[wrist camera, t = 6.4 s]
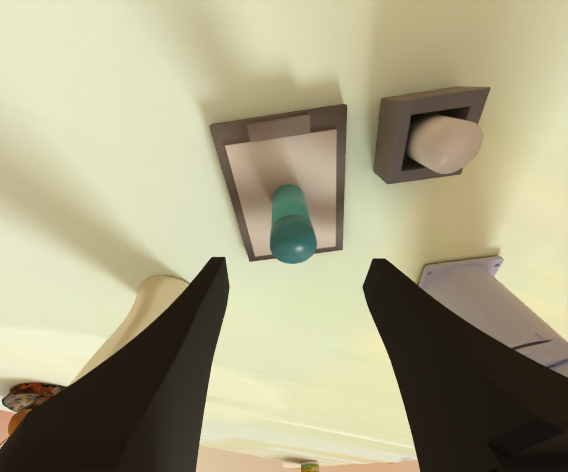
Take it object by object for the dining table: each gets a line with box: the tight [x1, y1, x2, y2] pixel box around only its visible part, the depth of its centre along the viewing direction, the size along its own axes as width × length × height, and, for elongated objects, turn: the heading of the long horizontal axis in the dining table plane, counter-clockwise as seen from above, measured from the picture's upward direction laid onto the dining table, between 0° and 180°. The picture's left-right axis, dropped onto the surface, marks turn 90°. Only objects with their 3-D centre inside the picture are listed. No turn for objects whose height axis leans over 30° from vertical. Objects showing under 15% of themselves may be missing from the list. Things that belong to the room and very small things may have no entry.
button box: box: [374, 87, 490, 184], centre depth 15 cm, size 5×5×3 cm
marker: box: [270, 185, 317, 264], centre depth 15 cm, size 3×3×6 cm
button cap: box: [404, 114, 482, 174], centre depth 14 cm, size 3×3×3 cm
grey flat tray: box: [210, 104, 347, 262], centre depth 18 cm, size 12×9×1 cm
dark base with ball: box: [0, 383, 66, 445], centre depth 36 cm, size 12×12×8 cm
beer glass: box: [70, 276, 189, 385], centre depth 19 cm, size 7×7×15 cm
